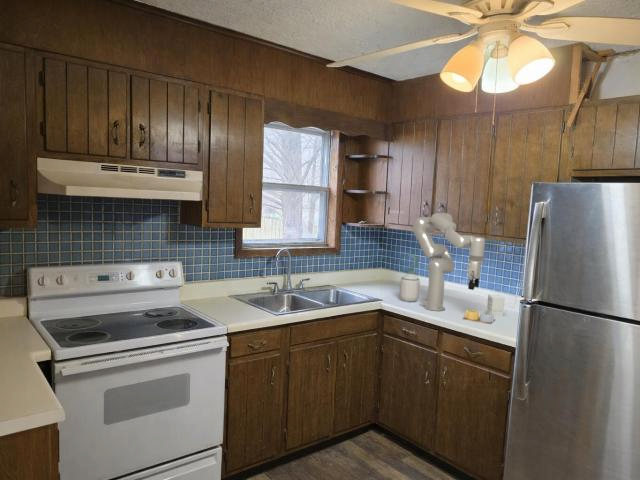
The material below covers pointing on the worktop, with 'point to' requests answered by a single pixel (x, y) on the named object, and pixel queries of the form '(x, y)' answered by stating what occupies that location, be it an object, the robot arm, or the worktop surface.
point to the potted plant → (410, 284)
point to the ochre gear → (472, 314)
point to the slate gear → (486, 317)
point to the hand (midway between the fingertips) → (473, 288)
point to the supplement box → (496, 305)
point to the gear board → (479, 319)
